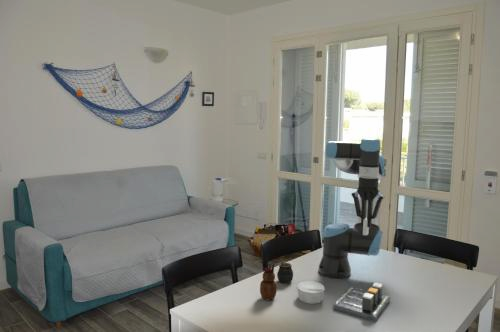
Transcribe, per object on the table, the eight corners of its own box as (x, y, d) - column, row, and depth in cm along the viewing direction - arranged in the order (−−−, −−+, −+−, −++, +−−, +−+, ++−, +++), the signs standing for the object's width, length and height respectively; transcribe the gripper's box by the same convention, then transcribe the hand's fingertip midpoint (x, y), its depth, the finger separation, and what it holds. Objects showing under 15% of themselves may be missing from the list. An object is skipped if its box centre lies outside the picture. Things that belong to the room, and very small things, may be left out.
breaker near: (362, 308, 147) (362, 295, 146) (365, 305, 150) (365, 292, 149) (370, 310, 145) (370, 298, 144) (373, 307, 148) (373, 294, 147)
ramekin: (307, 307, 152) (307, 294, 152) (291, 296, 162) (291, 283, 161) (330, 302, 157) (330, 289, 157) (313, 291, 167) (313, 279, 167)
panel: (333, 309, 151) (333, 303, 151) (351, 291, 167) (351, 286, 167) (374, 321, 142) (375, 315, 142) (389, 301, 159) (389, 296, 158)
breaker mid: (367, 302, 152) (367, 290, 151) (370, 299, 155) (370, 287, 154) (374, 304, 150) (375, 292, 149) (377, 301, 153) (378, 289, 152)
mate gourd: (285, 286, 171) (285, 264, 170) (273, 281, 177) (273, 259, 176) (296, 282, 176) (296, 260, 175) (284, 277, 182) (284, 256, 181)
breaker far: (371, 297, 157) (372, 285, 156) (374, 294, 160) (375, 282, 159) (379, 299, 155) (380, 287, 154) (382, 295, 158) (382, 284, 157)
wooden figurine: (278, 296, 161) (279, 261, 159) (274, 302, 155) (275, 266, 154) (262, 294, 163) (263, 259, 161) (258, 300, 158) (258, 264, 156)
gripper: (349, 176, 158) (346, 233, 160) (382, 179, 150) (379, 239, 153) (355, 174, 164) (353, 229, 167) (387, 177, 157) (384, 235, 159)
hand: (365, 234), depth 160 cm, fingers closed
